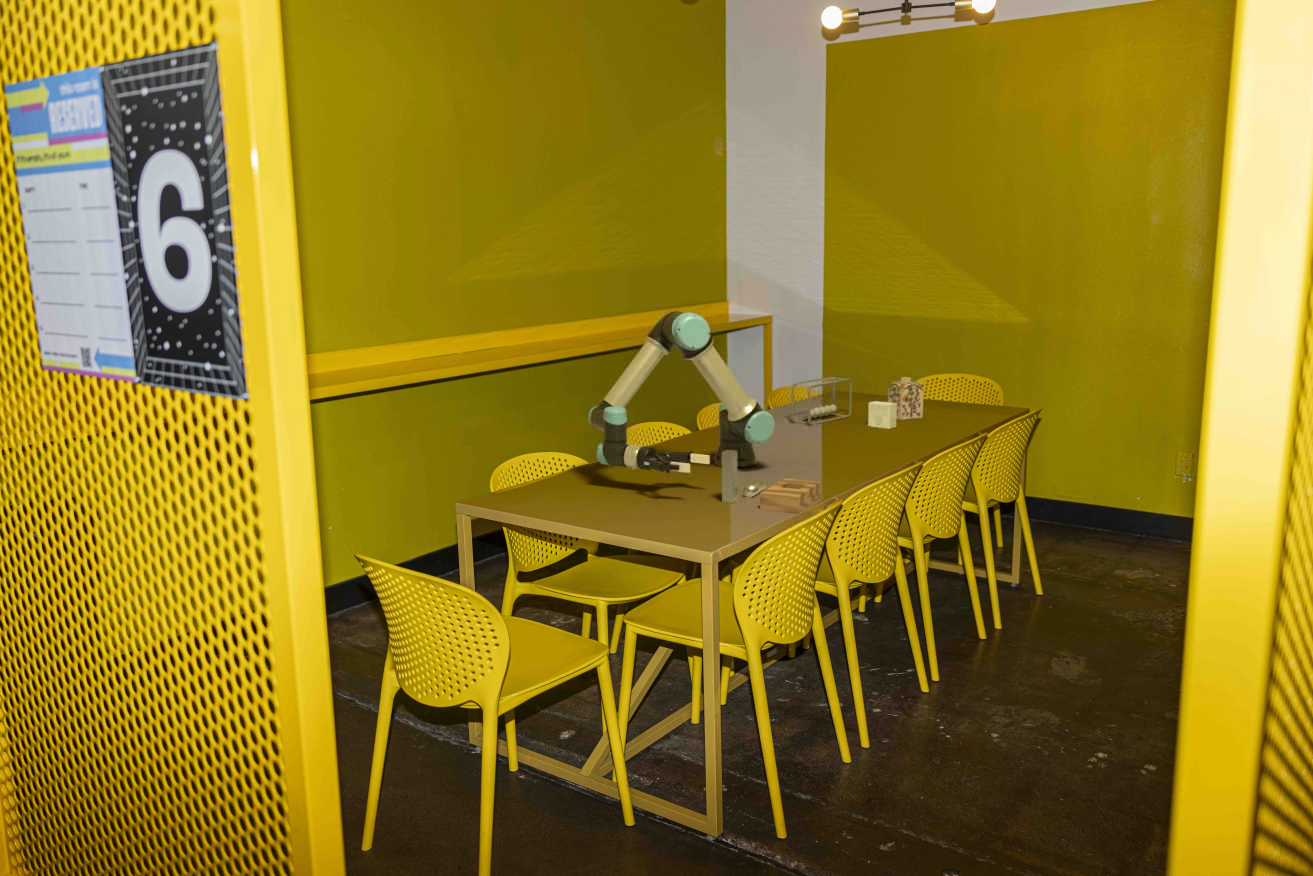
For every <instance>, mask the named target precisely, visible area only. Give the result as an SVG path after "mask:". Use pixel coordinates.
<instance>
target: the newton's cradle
mask: <svg viewBox="0 0 1313 876" xmlns="http://www.w3.org/2000/svg"><path fill="white" fill-rule="evenodd" d="M844 382H849V385H848V386H849V391H848V392H849V393H848V398H849V399H848V401H849V402H848V414H847V415H844V414H838V413H837V414H836V412H837V410H838V407H837V405H836V392H837V391H836V388H837V386H838V384H839V383H844ZM796 386H804V387H805V386H806V389H807V410H806V412H805V415H806V417H805V418H799V419H795V413H794V412H795V387H796ZM822 386H823V389H824V390H823V391H826V390H827V389H826V388H827V387H824V386H828V387H829V388H831V387H832V389H829V397H828V399H830V400H831V401H830V400H828V402H827V401H824V400H825V399H827V398H826V393H824V396H823V397H824V399H823V401H821V398H820V397H818V399H817V401H820V403H824V402H826V404H825V406H824V405H820V406H819V407H818V405H819V403H817V405H816V403H814V402H813V401H814V400H816V399H815V394H813V395H812V391H813V393H815V391H816V388H819V389H821V387H822ZM831 391H832V392H831ZM818 392H819V393H818V396H821V393H820V392H821V391H818ZM790 394H791V398H790V399H791V403H790V404H791V405H790V406H791V407H790V409H791V410H790V411H791V412H790V413H791V414H790V417H791V422H792V423H794V422H797V423H798V421H801V420H806V421H807V422H806V423H807V424H806V425H809V426H814V425H813V424H816V425H819V424H818V423H821V424H824V423H823V422H825V423H829V422H828V421H830V422H833V420H834V421H838V420H837V419H839V420H843V419H847V418H846V417H848V418H850V417H851V416H852V410H853V409H852V406H853V405H852V404H853V403H852V401H853V380H852V379H851V378H839V377H834V376H828V377H822V378H821V377H820V378H816V379H811V380H805V381H799V382H794V383H792V385H791V393H790ZM811 395H812V396H811ZM831 395H832V398H831ZM811 397H812V398H813V399H812V398H811ZM811 399H812V401H811ZM829 402H832V403H831V404H830V405H829ZM812 403H814V404H815V405H814V406H815V407H814V408H813V409H812V406H813V404H812ZM828 415H829V416H835V417H833V418H829V419H822V420H819V421H815V422H811V420H813V419H812V418H815V419H818V418H817V417H820V418H824V417H823V416H825V417H829V416H828ZM836 416H837V417H836ZM842 418H843V419H842ZM807 419H808V420H807ZM801 422H802V423H801V424H805V421H801Z"/></svg>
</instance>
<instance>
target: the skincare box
mask: <svg viewBox="0 0 1313 876" xmlns="http://www.w3.org/2000/svg"><path fill="white" fill-rule="evenodd" d="M867 414H868V417H867V418H868V419H867V422H868V423H867V427H868V426H871V428H877V427H878V429H888V430H889V429H893V428H897V420H898V419H897V403H890V402H888V401H877V400H874V401H869V402H868V413H867Z"/></svg>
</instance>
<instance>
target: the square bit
mask: <svg viewBox="0 0 1313 876" xmlns="http://www.w3.org/2000/svg"><path fill="white" fill-rule="evenodd" d="M735 501H736V502H737V501H738V468H737V451H735V450H725V451H723V452H722V467H721V502H722V503H725V502H730V503H729V504H734V503H736V502H735ZM733 502H734V503H733Z"/></svg>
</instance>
